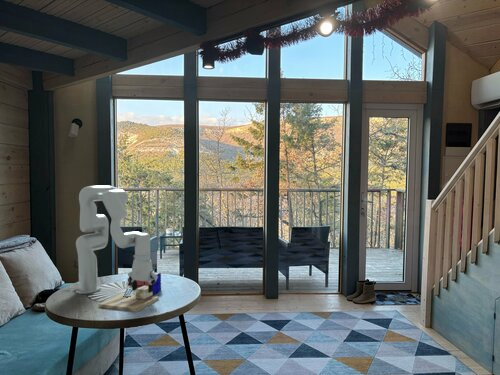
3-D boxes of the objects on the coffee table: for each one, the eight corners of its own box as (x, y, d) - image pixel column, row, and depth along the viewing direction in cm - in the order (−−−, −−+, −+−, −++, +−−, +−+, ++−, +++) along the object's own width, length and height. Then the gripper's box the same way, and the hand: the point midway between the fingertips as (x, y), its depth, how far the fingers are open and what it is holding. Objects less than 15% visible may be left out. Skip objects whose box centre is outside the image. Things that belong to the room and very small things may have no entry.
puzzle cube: (153, 295, 192) (152, 277, 192) (135, 295, 194) (135, 276, 194) (161, 290, 202) (161, 272, 202) (144, 289, 204) (144, 271, 204)
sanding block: (135, 299, 182) (135, 289, 182) (144, 295, 188) (144, 285, 188) (144, 300, 180) (144, 290, 180) (152, 296, 187) (152, 286, 187)
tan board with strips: (98, 307, 176) (98, 303, 176) (123, 295, 193) (122, 292, 193) (136, 311, 168) (136, 308, 168) (158, 299, 186) (158, 296, 185)
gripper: (123, 257, 183) (123, 291, 183) (152, 260, 177) (152, 295, 178) (133, 254, 190) (133, 286, 190) (161, 257, 184) (161, 290, 185)
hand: (142, 290), depth 184 cm, fingers open, 9 cm apart
